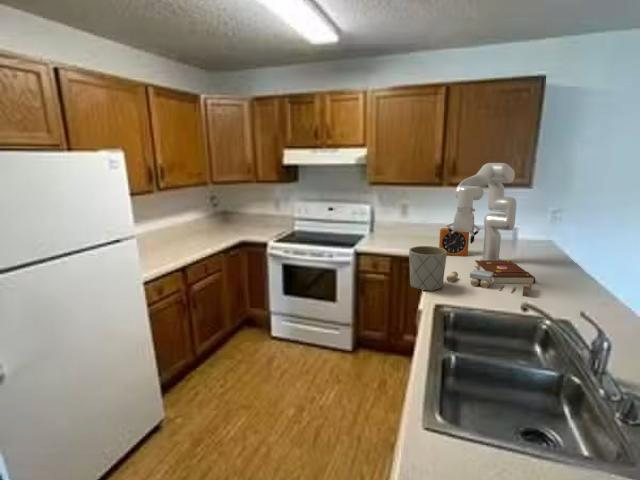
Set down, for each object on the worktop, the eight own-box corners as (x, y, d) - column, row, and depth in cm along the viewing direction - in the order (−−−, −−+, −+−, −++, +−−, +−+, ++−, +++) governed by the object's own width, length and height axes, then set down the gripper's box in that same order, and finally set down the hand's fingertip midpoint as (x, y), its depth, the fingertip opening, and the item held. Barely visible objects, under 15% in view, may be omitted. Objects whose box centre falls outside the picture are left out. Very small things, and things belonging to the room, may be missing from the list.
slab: (473, 273, 209) (474, 269, 209) (493, 276, 203) (493, 272, 203) (469, 277, 203) (470, 273, 202) (489, 281, 197) (490, 276, 197)
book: (491, 284, 206) (492, 275, 205) (473, 267, 237) (474, 259, 236) (535, 284, 204) (536, 275, 203) (511, 267, 235) (512, 259, 234)
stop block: (526, 288, 197) (526, 279, 196) (531, 289, 196) (532, 280, 195) (522, 295, 188) (523, 286, 186) (527, 296, 186) (528, 287, 185)
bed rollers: (474, 281, 210) (474, 274, 209) (515, 287, 198) (516, 280, 198) (470, 285, 203) (470, 278, 202) (512, 293, 191) (513, 285, 190)
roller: (451, 278, 217) (450, 271, 216) (458, 278, 215) (457, 271, 214) (446, 282, 211) (446, 275, 210) (454, 282, 208) (453, 275, 208)
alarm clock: (439, 255, 262) (440, 226, 258) (438, 252, 271) (440, 224, 266) (467, 256, 258) (469, 227, 253) (466, 253, 266) (468, 224, 262)
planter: (417, 278, 217) (418, 244, 213) (450, 284, 206) (452, 249, 201) (401, 287, 203) (402, 251, 199) (436, 295, 191) (437, 257, 187)
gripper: (483, 210, 200) (480, 242, 204) (450, 208, 210) (448, 239, 213) (480, 212, 194) (477, 245, 198) (446, 210, 204) (444, 241, 207)
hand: (462, 241), depth 205 cm, fingers open, 9 cm apart
